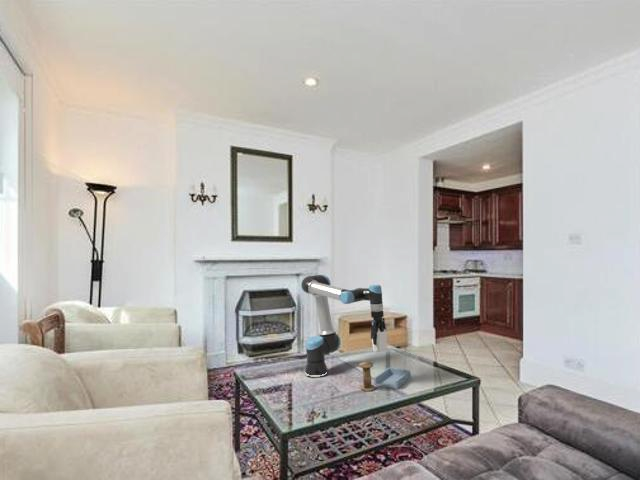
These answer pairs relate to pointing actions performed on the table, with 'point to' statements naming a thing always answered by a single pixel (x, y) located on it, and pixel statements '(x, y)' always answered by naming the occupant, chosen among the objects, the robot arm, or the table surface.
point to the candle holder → (381, 341)
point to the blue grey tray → (392, 377)
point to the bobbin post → (367, 376)
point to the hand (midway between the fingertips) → (379, 347)
